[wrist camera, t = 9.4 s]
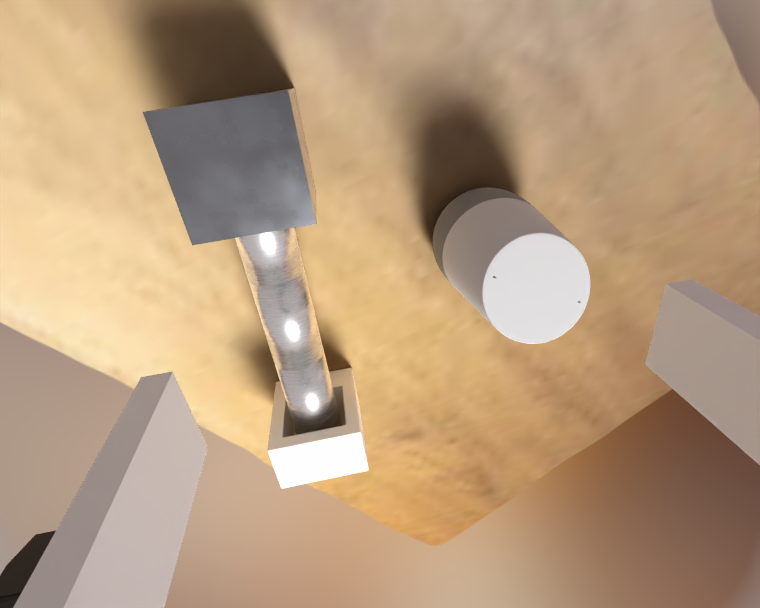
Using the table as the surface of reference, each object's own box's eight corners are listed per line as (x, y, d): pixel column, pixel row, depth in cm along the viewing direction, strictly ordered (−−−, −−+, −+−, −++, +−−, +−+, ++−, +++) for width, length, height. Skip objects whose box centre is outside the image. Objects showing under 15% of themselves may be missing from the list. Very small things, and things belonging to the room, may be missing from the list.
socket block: (275, 382, 45) (267, 450, 36) (351, 367, 45) (360, 432, 37) (287, 416, 47) (281, 488, 39) (358, 402, 47) (368, 470, 39)
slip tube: (221, 168, 31) (208, 181, 27) (281, 159, 31) (277, 170, 27) (299, 424, 43) (298, 458, 40) (342, 415, 44) (345, 448, 40)
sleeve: (186, 104, 32) (142, 112, 23) (294, 87, 32) (288, 90, 24) (219, 207, 35) (192, 245, 27) (315, 191, 36) (316, 223, 28)
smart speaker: (538, 199, 39) (641, 253, 27) (494, 285, 43) (568, 366, 31) (448, 166, 36) (517, 209, 24) (410, 260, 40) (453, 339, 28)
